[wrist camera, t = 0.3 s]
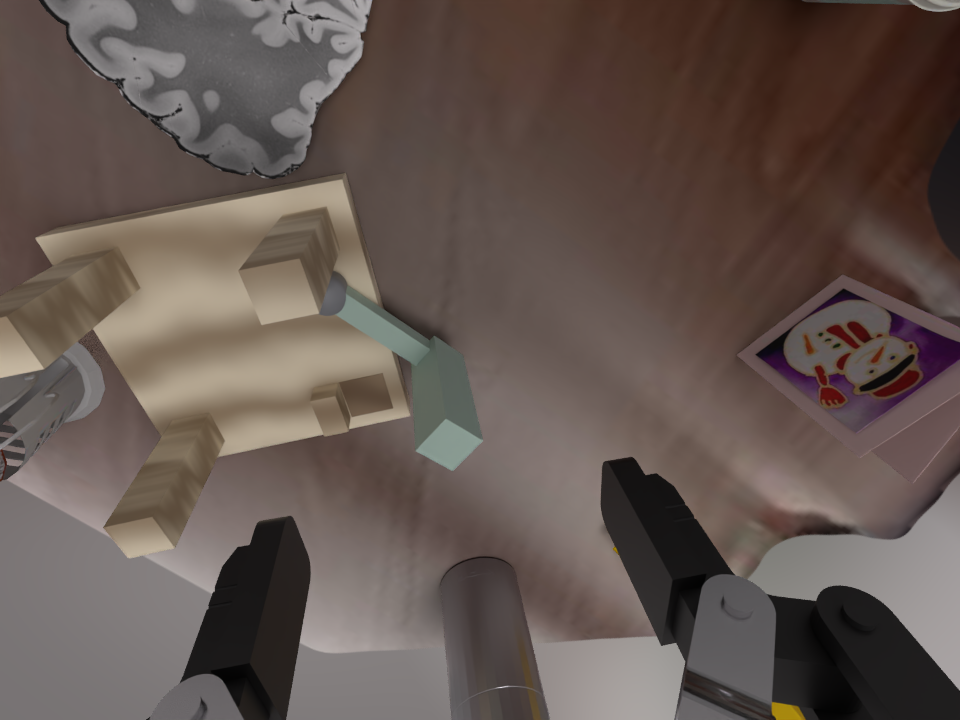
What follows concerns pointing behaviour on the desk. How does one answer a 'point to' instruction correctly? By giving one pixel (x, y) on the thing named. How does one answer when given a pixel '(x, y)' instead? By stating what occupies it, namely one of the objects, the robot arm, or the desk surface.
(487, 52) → the desk surface
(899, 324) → the greeting card
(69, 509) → the desk surface
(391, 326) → the hinged leg
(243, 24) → the brain slice
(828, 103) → the desk surface
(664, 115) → the desk surface
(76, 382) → the french press
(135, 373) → the stool seat
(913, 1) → the coffee cup
